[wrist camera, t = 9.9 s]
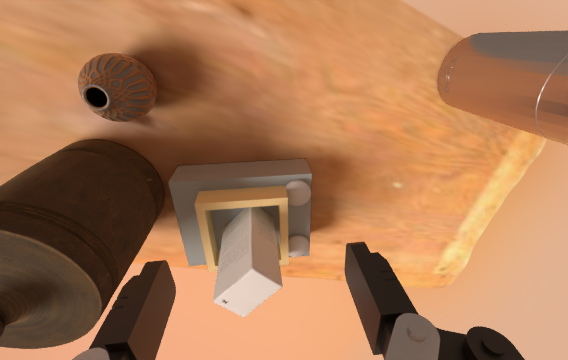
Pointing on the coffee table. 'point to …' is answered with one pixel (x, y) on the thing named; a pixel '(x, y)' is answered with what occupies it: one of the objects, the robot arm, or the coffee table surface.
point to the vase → (117, 87)
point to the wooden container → (71, 239)
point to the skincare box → (247, 262)
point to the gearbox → (242, 204)
